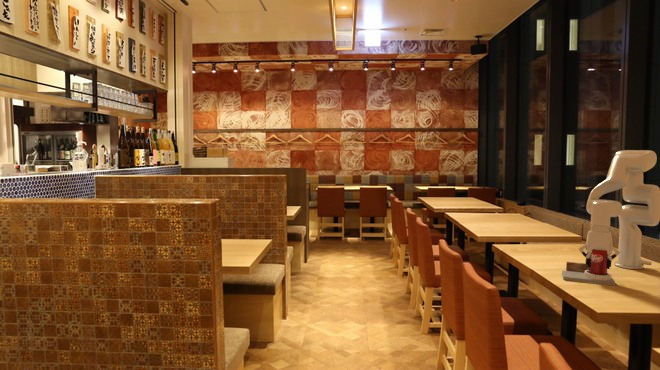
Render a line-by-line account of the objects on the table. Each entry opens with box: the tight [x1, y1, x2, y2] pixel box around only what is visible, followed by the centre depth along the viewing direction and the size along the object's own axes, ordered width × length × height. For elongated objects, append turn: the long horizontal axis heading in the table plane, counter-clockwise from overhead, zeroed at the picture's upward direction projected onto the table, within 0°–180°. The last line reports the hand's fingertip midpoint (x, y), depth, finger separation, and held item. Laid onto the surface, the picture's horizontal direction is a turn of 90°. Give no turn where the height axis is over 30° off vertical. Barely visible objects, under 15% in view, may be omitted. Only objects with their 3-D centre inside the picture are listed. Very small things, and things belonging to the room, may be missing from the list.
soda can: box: [589, 249, 608, 275], centre depth 207 cm, size 7×7×12 cm
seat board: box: [561, 270, 616, 286], centre depth 209 cm, size 20×12×4 cm, turn 66°
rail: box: [565, 261, 589, 273], centre depth 218 cm, size 16×2×5 cm, turn 66°
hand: (598, 267), depth 207 cm, fingers closed on soda can, 7 cm apart
